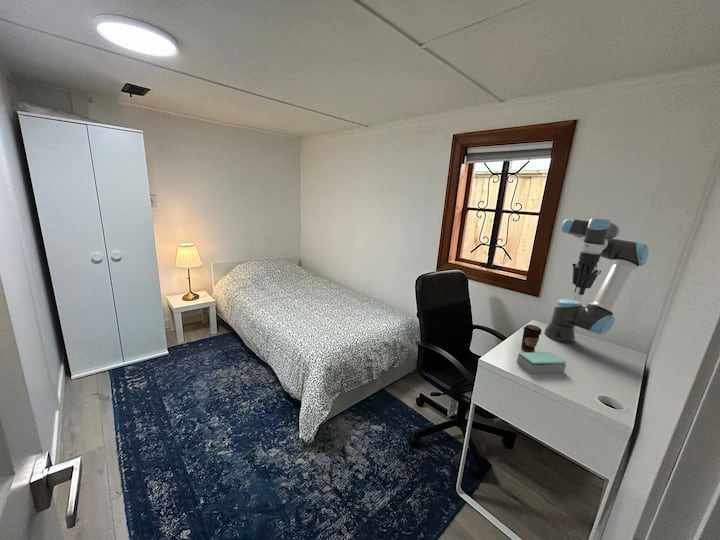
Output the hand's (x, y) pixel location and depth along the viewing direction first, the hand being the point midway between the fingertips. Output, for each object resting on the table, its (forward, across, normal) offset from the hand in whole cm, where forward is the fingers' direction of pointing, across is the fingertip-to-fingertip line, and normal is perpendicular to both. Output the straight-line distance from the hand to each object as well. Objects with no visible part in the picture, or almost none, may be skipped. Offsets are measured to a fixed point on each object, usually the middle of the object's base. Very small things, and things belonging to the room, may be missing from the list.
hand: (576, 300), depth 143 cm
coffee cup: (+32, -9, -12) cm, 35 cm away
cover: (+27, +7, -18) cm, 33 cm away
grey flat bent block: (+31, +7, -18) cm, 37 cm away
